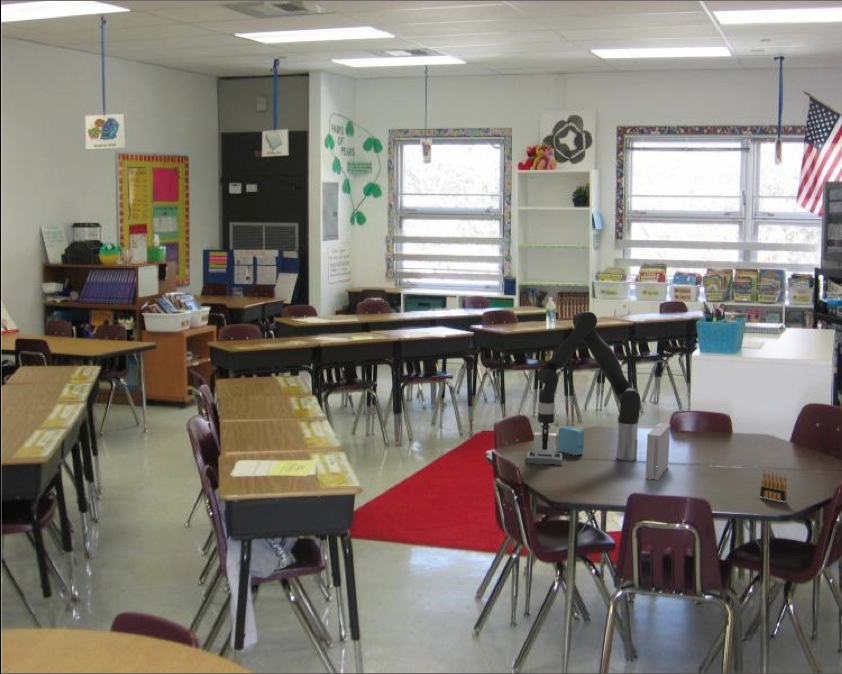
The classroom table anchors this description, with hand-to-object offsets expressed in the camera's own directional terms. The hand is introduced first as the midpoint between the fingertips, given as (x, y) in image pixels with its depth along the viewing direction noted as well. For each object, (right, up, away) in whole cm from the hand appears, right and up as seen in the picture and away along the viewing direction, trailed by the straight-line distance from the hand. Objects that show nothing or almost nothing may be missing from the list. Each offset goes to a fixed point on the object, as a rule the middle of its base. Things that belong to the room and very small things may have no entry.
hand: (544, 448), depth 517 cm
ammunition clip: (+87, -16, -58) cm, 106 cm away
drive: (0, -2, 0) cm, 2 cm away
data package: (+14, -4, +18) cm, 23 cm away
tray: (0, -6, +1) cm, 6 cm away
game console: (+48, -10, -16) cm, 52 cm away
